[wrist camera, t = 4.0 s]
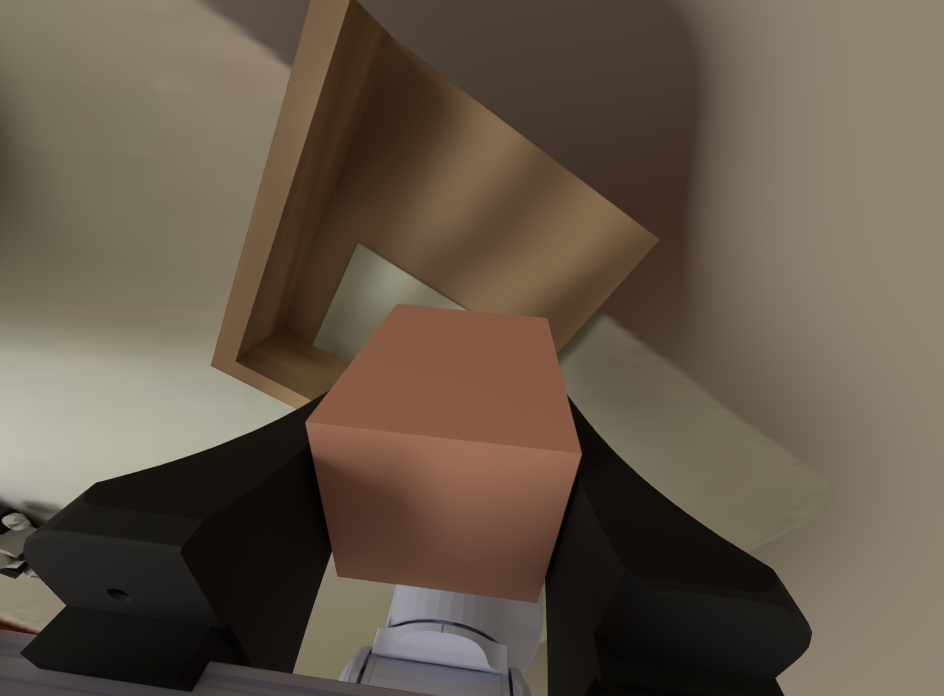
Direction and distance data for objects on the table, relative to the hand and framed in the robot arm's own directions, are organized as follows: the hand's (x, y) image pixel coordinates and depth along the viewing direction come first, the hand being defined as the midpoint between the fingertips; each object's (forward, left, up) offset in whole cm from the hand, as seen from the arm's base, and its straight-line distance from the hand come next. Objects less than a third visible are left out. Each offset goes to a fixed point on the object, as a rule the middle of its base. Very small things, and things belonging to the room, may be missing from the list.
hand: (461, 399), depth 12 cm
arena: (+2, 0, -9) cm, 9 cm away
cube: (0, 0, -1) cm, 1 cm away
